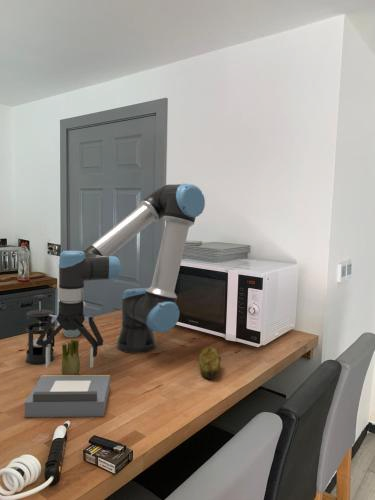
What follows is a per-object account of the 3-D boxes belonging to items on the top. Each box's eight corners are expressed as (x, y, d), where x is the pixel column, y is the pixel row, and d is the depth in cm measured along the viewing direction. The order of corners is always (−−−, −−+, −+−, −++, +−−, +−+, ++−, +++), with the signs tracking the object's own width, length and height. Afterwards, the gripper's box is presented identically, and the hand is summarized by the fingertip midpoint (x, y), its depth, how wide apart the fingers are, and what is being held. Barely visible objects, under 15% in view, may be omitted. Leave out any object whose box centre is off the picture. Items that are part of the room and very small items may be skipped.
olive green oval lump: (191, 378, 129) (192, 354, 128) (202, 364, 141) (203, 342, 140) (216, 382, 127) (217, 358, 126) (225, 367, 139) (226, 345, 138)
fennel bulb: (62, 381, 123) (62, 344, 122) (60, 375, 128) (60, 339, 126) (81, 379, 125) (81, 342, 124) (78, 373, 130) (79, 337, 129)
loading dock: (109, 387, 120) (110, 368, 120) (103, 416, 104) (104, 394, 103) (41, 387, 118) (41, 368, 118) (24, 417, 102) (24, 395, 101)
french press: (39, 367, 133) (39, 300, 130) (18, 362, 136) (17, 296, 134) (63, 355, 144) (63, 293, 141) (42, 351, 147) (42, 290, 145)
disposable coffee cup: (74, 329, 174) (74, 296, 172) (91, 335, 168) (91, 300, 166) (53, 335, 165) (53, 300, 164) (70, 341, 159) (70, 304, 157)
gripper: (112, 298, 129) (110, 361, 131) (33, 296, 126) (32, 361, 128) (110, 304, 121) (108, 371, 123) (26, 302, 119) (25, 370, 121)
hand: (69, 366), depth 126 cm, fingers open, 13 cm apart
